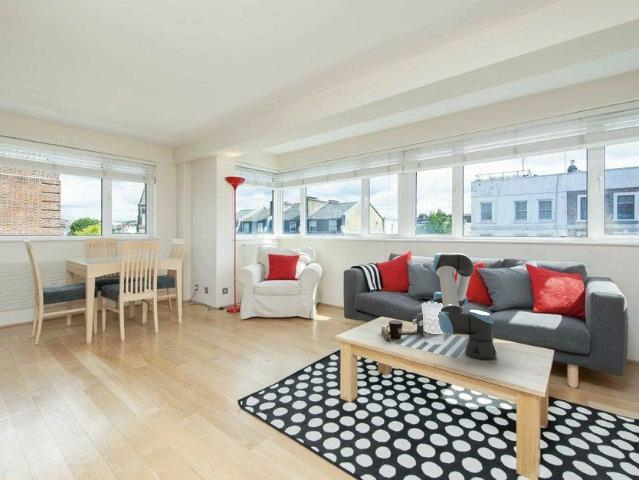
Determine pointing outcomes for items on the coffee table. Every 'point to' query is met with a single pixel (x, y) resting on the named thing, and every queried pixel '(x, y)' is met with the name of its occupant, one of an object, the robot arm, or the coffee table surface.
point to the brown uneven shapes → (419, 331)
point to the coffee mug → (395, 329)
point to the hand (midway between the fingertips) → (416, 323)
